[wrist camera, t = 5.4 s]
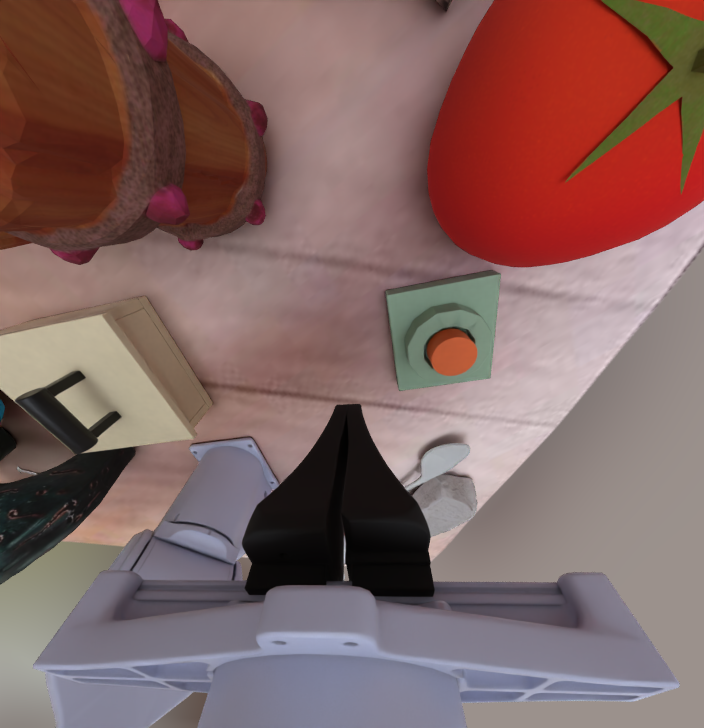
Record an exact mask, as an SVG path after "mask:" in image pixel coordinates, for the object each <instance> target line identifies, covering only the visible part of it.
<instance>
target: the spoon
mask: <svg viewBox="0 0 704 728" xmlns="http://www.w3.org/2000/svg"><path fill="white" fill-rule="evenodd" d="M469 453H470V447H469V445H467V444H461V443H451V444H445V445H441V446H438V447H435V448H432V449H431V450H429V451H428V452H426V453H425V455H424V456H423V457H422V460H421V476H420V478H419V479H417V480H416V481H414V482H413V483H411V484H409V485H407V486H405V487H404V488H405V489H406V490H407V491H409V490H411V489H412V488H414V487H416V486H418V485H421V484H423V483H425V482H426V481H428V480H430V479H432V478H434V477H436V476H439V475H441V474H443V473H445V472H447V471H448V470H450V469H451V468H453V467H454V466H456V465H457V464H458V463H459V462H461V461H462V460H463V459H464V458H466V457H467V456H468V454H469Z"/></svg>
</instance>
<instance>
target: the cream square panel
mask: <svg viewBox="0 0 704 728" xmlns="http://www.w3.org/2000/svg"><path fill="white" fill-rule="evenodd" d="M0 389H1V390H2V391H3V392H4V393H5V394H6V395H8V396H9V397H10V398H11V399H12V400H13V401H14V402H16V403H17V404H18V405H19V406H20V407H21V408H23V409H24V410H25V411H26V412H27V413H28V414H29V415H31V416H32V417H33V418H34V419H35V420H36V421H38V422H39V423H40V424H41V425H42V426H43V427H44V428H46V429H47V430H48V431H49V432H50V433H51V434H52V435H54V436H55V437H56V438H57V439H58V440H59V441H61V442H62V443H63V444H64V445H65V446H66V447H67V448H69V449H70V450H71V451H72V452H73V453H74V454H80V453H88V452H96V451H103V450H111V449H119V448H127V447H134V446H142V445H150V444H158V443H165V442H173V441H181V440H189V439H194V438H195V437H196V436H197V432H196V431H195V429H194V428H193V427H192V425H191V424H190V423H189V421H188V420H187V418H186V417H185V416H184V414H183V413H182V412H181V410H180V409H179V408H178V406H177V405H176V403H175V402H174V401H173V399H172V398H171V397H170V395H169V394H168V392H167V391H166V390H165V388H164V387H163V386H162V384H161V383H160V381H159V380H158V379H157V377H156V376H155V375H154V373H153V372H152V371H151V369H150V368H149V366H148V365H147V364H146V362H145V361H144V360H143V358H142V357H141V355H140V354H139V353H138V351H137V350H136V349H135V347H134V346H133V344H132V343H131V342H130V340H129V339H128V338H127V336H126V335H125V333H124V332H123V331H122V329H121V328H120V327H119V325H118V324H117V323H116V321H115V320H114V318H113V317H112V316H111V314H110V313H109V312H104V313H99V314H95V315H90V316H85V317H80V318H76V319H71V320H66V321H62V322H57V323H52V324H47V325H43V326H38V327H33V328H29V329H24V330H19V331H14V332H10V333H5V334H0Z"/></svg>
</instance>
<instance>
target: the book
mask: <svg viewBox="0 0 704 728" xmlns="http://www.w3.org/2000/svg"><path fill="white" fill-rule="evenodd" d="M436 1H437V2H438V3H439V5H440V6H441V7H442V8H443V9H444V10H445V11H447V9H448V7H449V5H450V3H451V1H452V0H436Z"/></svg>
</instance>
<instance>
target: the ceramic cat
mask: <svg viewBox="0 0 704 728" xmlns="http://www.w3.org/2000/svg"><path fill="white" fill-rule="evenodd" d="M15 448H16V442H15V440H14V439H13V438H12V437H11V436H10V435H9V434H8V433H7V432H6V431H5V430H4V429H3V427H0V461H1V460H2V459H3V458H4V457H5V456H6V455H8V454H9V453H10V452H11V451H12V450H14V449H15ZM134 455H135V450H134V448H133V447H127V448H119V449H111V450H103V451H96V452H88V453H80V454H77V455H75V456H74V457H72V458H71V459H69V460H67V461H66V462H64V463H63V464H61V465H59V466H57V467H55V468H52V469H50V470H47V471H45V472H42V473H40V474H37V475H35V476H32V477H29V478H26V479H22V480H19V481H15V482H11V483H0V584H2V583H3V582H5V581H6V580H8V579H9V578H10V577H12V576H14V575H16V574H17V573H19V572H20V571H22V570H23V569H25V568H26V567H27V566H28V565H30V564H31V563H32V562H33V561H35V560H36V559H38V558H39V557H41V556H42V555H44V554H45V553H46V552H48V551H49V550H51V549H52V548H54V547H55V546H56V545H57V544H58V543H59V542H61V541H62V540H63V539H64V538H66V537H67V536H68V535H69V534H70V533H72V532H73V531H74V530H75V529H76V528H77V527H78V526H79V525H80V524H81V523H82V522H83V521H84V520H85V519H86V517H87V516H88V515H89V514H90V513H91V512H92V511H93V510H94V509H95V508H96V507H97V506H98V505H99V504H100V503H101V501H102V500H103V498H104V497H105V496H106V494H107V493H108V491H109V490H110V488H111V487H112V485H113V484H114V483H115V481H116V480H117V478H118V477H119V475H120V474H121V472H122V471H123V470H124V468H125V467H126V466H127V464H128V463H129V462H130V461H131V459H132V458H133V457H134Z"/></svg>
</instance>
